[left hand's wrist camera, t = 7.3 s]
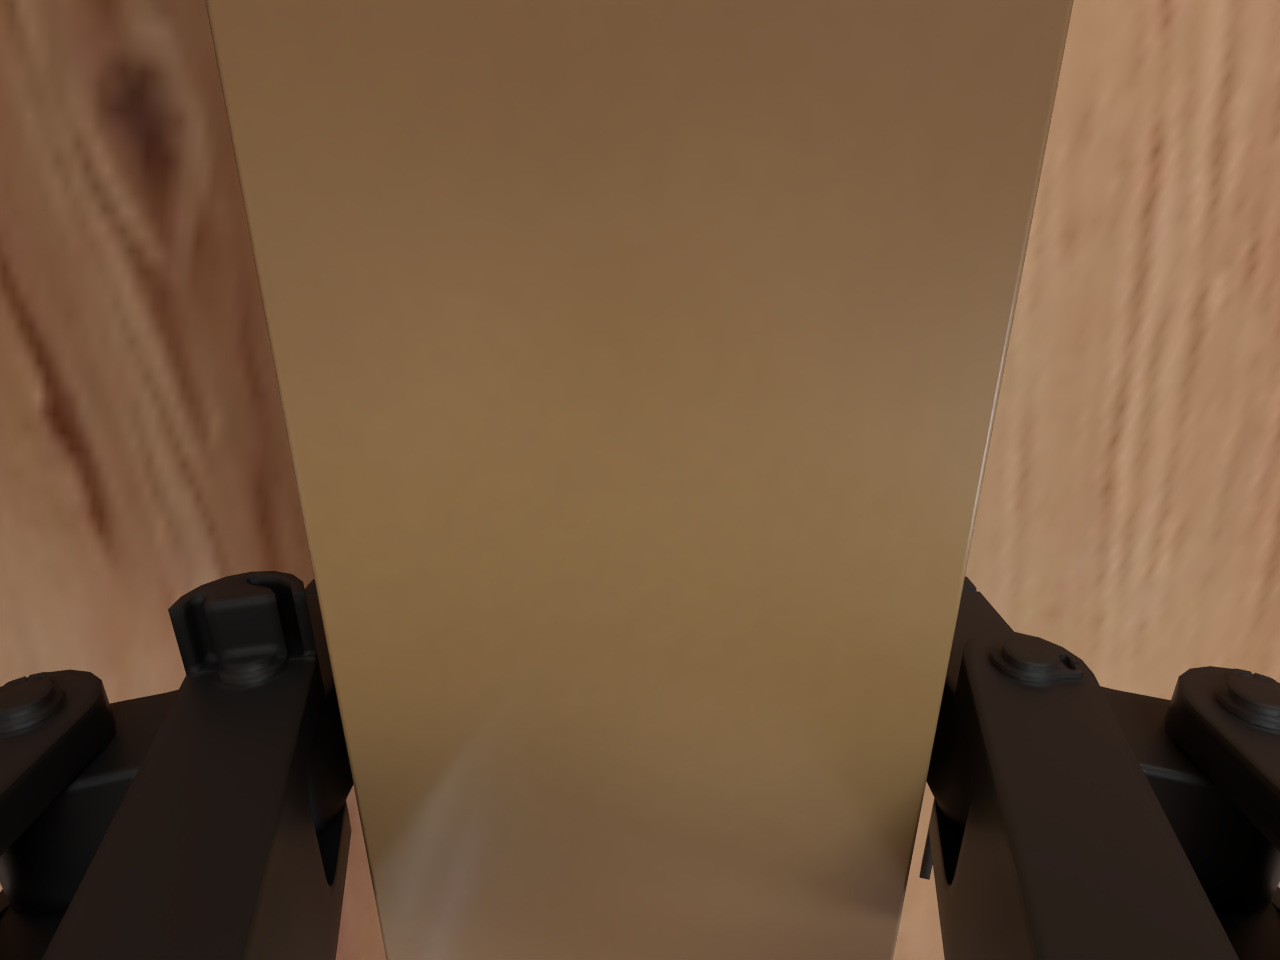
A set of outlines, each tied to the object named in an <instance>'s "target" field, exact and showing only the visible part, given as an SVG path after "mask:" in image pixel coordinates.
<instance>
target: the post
mask: <svg viewBox="0 0 1280 960" xmlns="http://www.w3.org/2000/svg"><path fill="white" fill-rule="evenodd" d="M205 1H206V6H207V11H208V17H209V22H210V27H211V33H212V38H213V43H214V49H215V54H216V59H217V64H218V70H219V75H220V80H221V86H222V91H223V96H224V101H225V107H226V112H227V117H228V123H229V128H230V133H231V138H232V144H233V149H234V154H235V160H236V165H237V170H238V175H239V181H240V186H241V191H242V197H243V202H244V207H245V212H246V218H247V223H248V228H249V234H250V239H251V244H252V249H253V255H254V260H255V265H256V271H257V276H258V281H259V286H260V292H261V297H262V302H263V308H264V313H265V318H266V323H267V329H268V334H269V339H270V345H271V350H272V355H273V360H274V366H275V371H276V376H277V382H278V387H279V392H280V397H281V403H282V408H283V413H284V419H285V424H286V429H287V434H288V440H289V445H290V450H291V456H292V461H293V466H294V471H295V477H296V482H297V487H298V493H299V498H300V503H301V508H302V514H303V519H304V524H305V530H306V535H307V540H308V545H309V551H310V556H311V561H312V567H313V572H314V577H315V583H316V588H317V593H318V598H319V604H320V609H321V614H322V620H323V625H324V630H325V635H326V641H327V646H328V651H329V657H330V662H331V667H332V672H333V678H334V683H335V688H336V694H337V699H338V704H339V709H340V715H341V720H342V725H343V731H344V736H345V741H346V746H347V752H348V757H349V762H350V768H351V773H352V778H353V783H354V789H355V794H356V799H357V805H358V810H359V815H360V820H361V826H362V831H363V836H364V842H365V847H366V852H367V857H368V863H369V868H370V873H371V879H372V884H373V889H374V894H375V900H376V905H377V910H378V916H379V921H380V926H381V931H382V937H383V942H384V947H385V953H386V958H387V960H893V955H894V949H895V944H896V939H897V934H898V928H899V923H900V918H901V912H902V907H903V902H904V896H905V891H906V886H907V881H908V875H909V870H910V865H911V859H912V854H913V849H914V843H915V838H916V833H917V828H918V822H919V817H920V812H921V806H922V801H923V796H924V790H925V785H926V780H927V775H928V769H929V764H930V759H931V753H932V748H933V743H934V737H935V732H936V727H937V722H938V716H939V711H940V706H941V700H942V695H943V690H944V684H945V679H946V674H947V668H948V663H949V658H950V653H951V647H952V642H953V637H954V631H955V626H956V621H957V615H958V610H959V605H960V600H961V594H962V589H963V584H964V578H965V573H966V568H967V562H968V557H969V552H970V547H971V541H972V536H973V531H974V525H975V520H976V515H977V509H978V504H979V499H980V494H981V488H982V483H983V478H984V472H985V467H986V462H987V456H988V451H989V446H990V441H991V435H992V430H993V425H994V419H995V414H996V409H997V403H998V398H999V393H1000V387H1001V382H1002V377H1003V372H1004V366H1005V361H1006V356H1007V350H1008V345H1009V340H1010V334H1011V329H1012V324H1013V319H1014V313H1015V308H1016V303H1017V297H1018V292H1019V287H1020V281H1021V276H1022V271H1023V266H1024V260H1025V255H1026V250H1027V244H1028V239H1029V234H1030V228H1031V223H1032V218H1033V213H1034V207H1035V202H1036V197H1037V191H1038V186H1039V181H1040V175H1041V170H1042V165H1043V160H1044V154H1045V149H1046V144H1047V138H1048V133H1049V128H1050V122H1051V117H1052V112H1053V107H1054V101H1055V96H1056V91H1057V85H1058V80H1059V75H1060V69H1061V64H1062V59H1063V53H1064V48H1065V43H1066V38H1067V32H1068V27H1069V22H1070V16H1071V11H1072V6H1073V0H205Z"/></svg>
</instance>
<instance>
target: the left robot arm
mask: <svg viewBox="0 0 1280 960" xmlns="http://www.w3.org/2000/svg"><path fill="white" fill-rule="evenodd" d="M168 611H169V614H170V618H171V621H172V625H173V629H174V632H175V636H176V639H177V643H178V646H179V650H180V654H181V657H182V661H183V664H184V668H185V671H186V677H185V679H184V681H183V683H182V685H181V687H180V689H179V690H176V691H172V692H168V693H163V694H158V695H152V696H147V697H142V698H137V699H131V700H126V701H121V702H116V703H111V704H109V701H108V698H107V695H106V692H105V689H104V686H103V683H102V680H101V679H99V678H98V677H97V676H95V675H94V674H92V673H91V672H85V671H77V670H64V671H55V672H42V673H38V674H33V675H29V677H27V678H26V676H25V677H22V678H19V679H16V680H12V681H10V682H8V683H6V684H5V685H4V686H2V687H0V884H1V886H2V888H3V890H2V891H1V892H0V960H335V959H336V951H337V943H338V935H339V927H340V919H341V910H342V902H343V894H344V886H345V878H346V870H347V862H348V854H349V846H350V837H351V826H350V819H349V813H348V808H347V803H346V798H347V796H348V794H349V792H350V790H351V788H352V786H353V784H354V783H353V778H352V773H351V768H350V762H349V757H348V752H347V746H346V741H345V736H344V731H343V725H342V720H341V715H340V709H339V704H338V699H337V694H336V688H335V683H334V678H333V672H332V667H331V662H330V657H329V651H328V646H327V641H326V635H325V630H324V625H323V620H322V614H321V609H320V604H319V598H318V593H317V588H316V583H315V579H313V580H312V581H311V583H310V584H309V585H308V586H307V587H306V588H305V589H304V584H303V581H301V580H300V579H298V578H297V577H295V576H294V575H293V574H287V573H282V572H277V571H261V572H248V573H243V574H238V575H232V576H227V577H224V578H221V579H218V580H215V581H212V582H210V583H207V584H204V585H201V586H199V587H198V588H196V589H194V590H192V591H190V592H189V593H187V594H185V595H183V596H181V597H180V598H179V599H178V600H177V601H176V602H175V603H174V604H173V605H172V606H171V607H170V608H169V609H168ZM926 781H927V783H928V785H929V787H930V789H931V791H932V793H933V795H934V797H935V798H934V803H933V808H932V813H931V818H930V823H929V828H928V834H927V839H926V844H925V849H924V854H923V859H922V865H921V871H920V878H924V879H930V874H931V869H932V865H933V868H934V876H935V884H936V892H937V900H938V909H939V917H940V925H941V933H942V941H943V949H944V957H945V960H1280V888H1279V887H1278V884H1279V882H1280V683H1278V682H1276V681H1275V680H1274V679H1272V678H1270V677H1267V676H1264V675H1260V674H1257V673H1255V674H1252V673H1251V672H1250V671H1245V670H1241V669H1229V668H1220V667H1212V666H1209V667H1200V668H1192V669H1189V670H1188V671H1186V672H1185V673H1183V674H1182V675H1180V676H1179V678H1178V681H1177V684H1176V687H1175V690H1174V693H1173V696H1172V699H1171V700H1166V699H1161V698H1155V697H1150V696H1145V695H1139V694H1134V693H1129V692H1124V691H1118V690H1113V689H1109V688H1105V687H1101V686H1100V685H1099V683H1098V681H1097V680H1096V678H1095V676H1094V674H1093V673H1092V671H1091V670H1090V669H1089V668H1088V667H1087V665H1086V664H1085V663H1084V662H1083V661H1082V660H1081V659H1080V658H1078V657H1077V656H1075V655H1074V654H1072V653H1071V652H1069V651H1068V650H1066V649H1065V648H1063V647H1061V646H1058V645H1056V644H1054V643H1051V642H1049V641H1046V640H1044V639H1041V638H1039V637H1034V636H1030V635H1026V634H1021V633H1017V632H1014V631H1013V630H1012V629H1011V628H1010V626H1009V625H1008V624H1007V623H1006V622H1005V621H1004V620H1003V618H1002V617H1001V616H1000V615H999V614H998V613H997V611H996V610H995V609H994V608H993V607H992V606H991V604H990V603H989V602H988V601H987V600H986V599H985V597H984V596H983V595H982V594H981V593H980V592H977V591H976V587H975V586H974V585H973V583H972V582H971V581H970V580H969V579H968V578H967V577H965V578H964V584H963V589H962V594H961V600H960V605H959V610H958V615H957V621H956V626H955V631H954V637H953V642H952V647H951V653H950V658H949V663H948V668H947V674H946V679H945V684H944V690H943V695H942V700H941V706H940V711H939V716H938V722H937V727H936V732H935V737H934V743H933V748H932V753H931V759H930V764H929V769H928V775H927V780H926Z"/></svg>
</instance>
